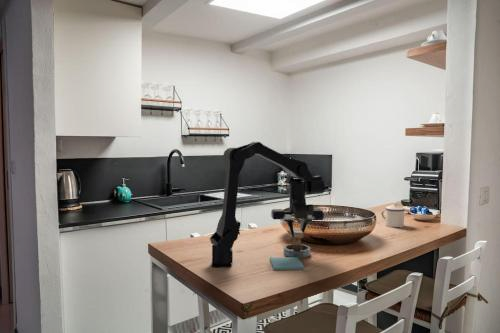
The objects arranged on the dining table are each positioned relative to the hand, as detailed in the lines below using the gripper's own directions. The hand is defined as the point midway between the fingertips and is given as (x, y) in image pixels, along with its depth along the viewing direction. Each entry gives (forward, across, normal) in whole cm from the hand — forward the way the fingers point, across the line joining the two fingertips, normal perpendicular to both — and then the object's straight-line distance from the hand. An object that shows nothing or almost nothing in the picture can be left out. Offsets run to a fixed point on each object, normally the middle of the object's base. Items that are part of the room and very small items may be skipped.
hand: (297, 236), depth 132 cm
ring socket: (+6, 0, 0) cm, 6 cm away
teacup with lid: (+7, +58, +43) cm, 73 cm away
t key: (+6, 0, 0) cm, 6 cm away
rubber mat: (+6, -6, -11) cm, 14 cm away
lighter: (+7, +14, +23) cm, 28 cm away
